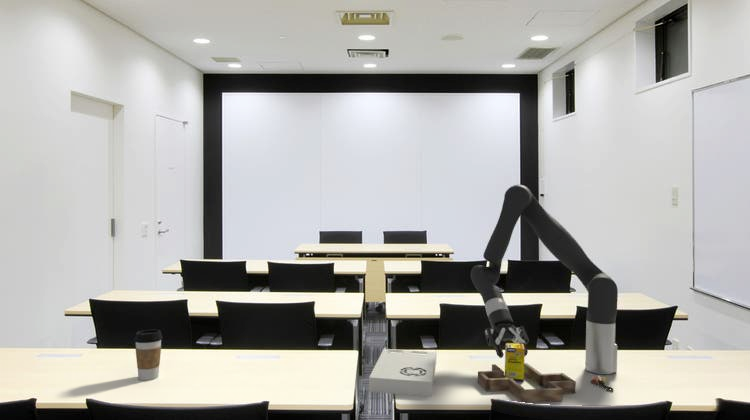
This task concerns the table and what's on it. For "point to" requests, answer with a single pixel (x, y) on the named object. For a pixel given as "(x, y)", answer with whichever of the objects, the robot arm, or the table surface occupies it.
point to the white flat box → (403, 372)
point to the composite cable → (600, 382)
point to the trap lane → (550, 383)
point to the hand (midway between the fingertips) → (513, 356)
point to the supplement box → (514, 361)
